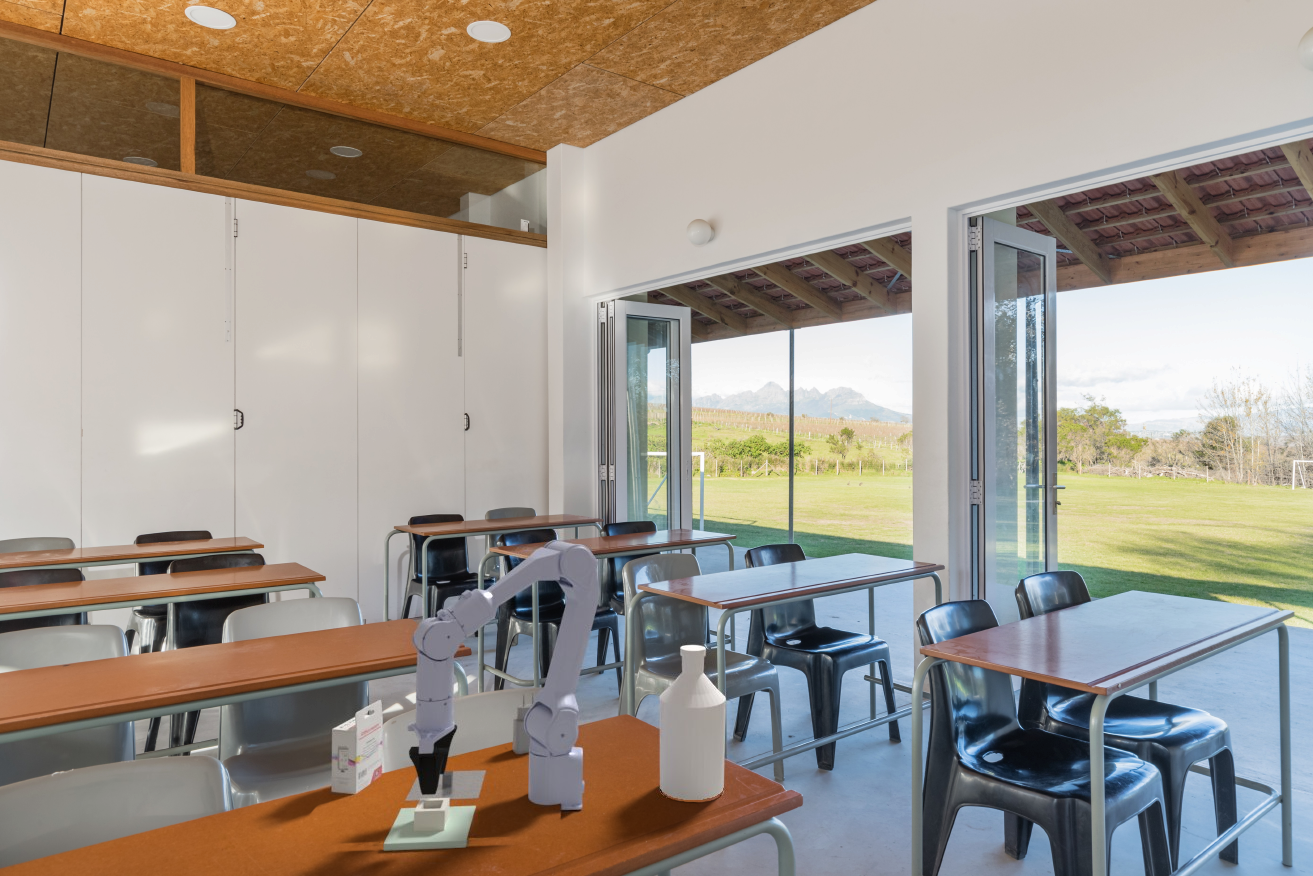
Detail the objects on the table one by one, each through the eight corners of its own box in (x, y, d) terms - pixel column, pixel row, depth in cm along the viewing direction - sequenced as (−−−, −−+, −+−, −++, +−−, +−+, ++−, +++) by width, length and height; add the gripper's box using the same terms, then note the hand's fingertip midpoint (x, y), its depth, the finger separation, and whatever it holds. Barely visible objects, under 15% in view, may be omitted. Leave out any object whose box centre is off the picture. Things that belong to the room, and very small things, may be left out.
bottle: (646, 783, 141) (648, 644, 142) (701, 771, 147) (702, 638, 148) (680, 809, 130) (682, 659, 131) (738, 795, 136) (739, 651, 137)
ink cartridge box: (357, 778, 142) (359, 696, 142) (382, 780, 141) (384, 698, 141) (329, 797, 134) (331, 711, 134) (355, 800, 133) (357, 713, 133)
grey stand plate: (485, 775, 144) (486, 759, 144) (478, 804, 132) (478, 786, 132) (419, 777, 142) (419, 761, 142) (405, 806, 130) (405, 788, 130)
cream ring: (449, 816, 125) (449, 797, 125) (444, 830, 120) (444, 810, 120) (419, 817, 124) (420, 798, 124) (413, 831, 120) (414, 811, 120)
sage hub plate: (475, 811, 129) (476, 793, 129) (465, 847, 117) (466, 827, 117) (401, 814, 127) (401, 796, 127) (383, 850, 115) (383, 830, 116)
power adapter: (511, 754, 154) (512, 693, 155) (537, 750, 157) (538, 689, 157) (516, 759, 152) (517, 697, 152) (543, 755, 154) (544, 693, 155)
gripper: (418, 683, 130) (416, 766, 129) (398, 711, 115) (396, 804, 115) (461, 682, 130) (459, 764, 130) (447, 710, 116) (445, 802, 115)
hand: (433, 783), depth 122 cm, fingers open, 7 cm apart
